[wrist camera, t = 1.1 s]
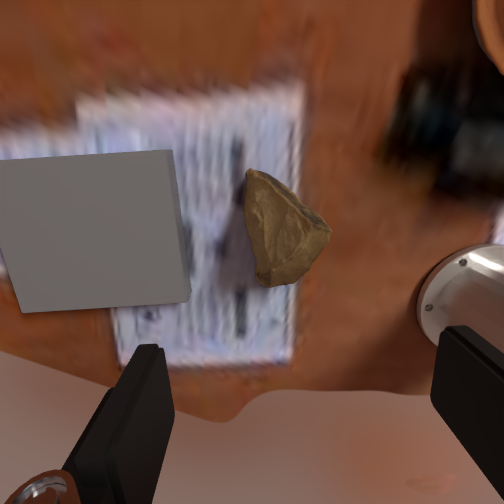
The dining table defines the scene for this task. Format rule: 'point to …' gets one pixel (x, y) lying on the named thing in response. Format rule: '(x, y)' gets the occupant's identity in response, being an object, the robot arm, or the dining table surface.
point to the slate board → (93, 231)
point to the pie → (490, 29)
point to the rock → (281, 230)
